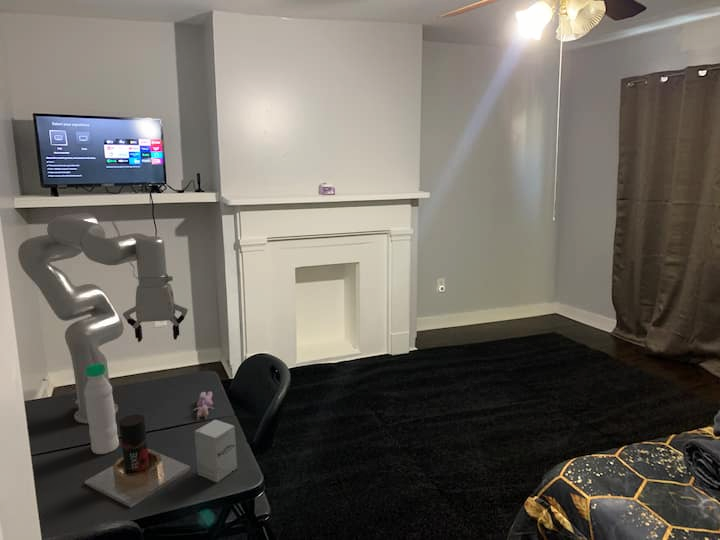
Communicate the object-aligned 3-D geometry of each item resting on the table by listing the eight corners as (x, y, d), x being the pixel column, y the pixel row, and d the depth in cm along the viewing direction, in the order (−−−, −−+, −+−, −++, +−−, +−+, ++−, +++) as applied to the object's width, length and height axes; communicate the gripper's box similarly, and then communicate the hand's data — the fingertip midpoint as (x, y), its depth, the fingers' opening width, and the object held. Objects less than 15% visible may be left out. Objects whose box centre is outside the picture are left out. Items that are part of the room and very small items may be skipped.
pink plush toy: (212, 423, 171) (217, 395, 185) (210, 407, 169) (215, 380, 182) (192, 425, 170) (198, 396, 184) (189, 409, 168) (196, 381, 182)
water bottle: (86, 452, 153) (74, 369, 147) (105, 440, 159) (95, 359, 154) (105, 457, 150) (94, 372, 145) (124, 444, 157) (114, 362, 151)
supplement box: (217, 483, 138) (213, 438, 135) (197, 474, 142) (193, 430, 139) (238, 469, 144) (235, 425, 141) (218, 461, 148) (214, 418, 145)
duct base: (85, 484, 138) (83, 470, 137) (146, 450, 153) (144, 437, 152) (130, 507, 129) (129, 492, 128) (190, 469, 144) (189, 456, 143)
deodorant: (128, 482, 137) (121, 428, 134) (123, 471, 142) (116, 418, 138) (152, 474, 140) (146, 421, 137) (147, 463, 145) (141, 412, 142)
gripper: (186, 276, 158) (190, 332, 162) (122, 279, 154) (128, 336, 158) (183, 283, 150) (188, 341, 154) (116, 286, 147) (123, 346, 151)
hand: (158, 339), depth 156 cm, fingers open, 9 cm apart
